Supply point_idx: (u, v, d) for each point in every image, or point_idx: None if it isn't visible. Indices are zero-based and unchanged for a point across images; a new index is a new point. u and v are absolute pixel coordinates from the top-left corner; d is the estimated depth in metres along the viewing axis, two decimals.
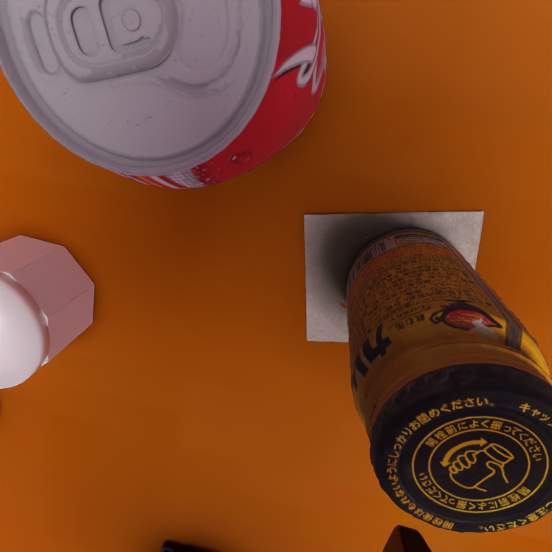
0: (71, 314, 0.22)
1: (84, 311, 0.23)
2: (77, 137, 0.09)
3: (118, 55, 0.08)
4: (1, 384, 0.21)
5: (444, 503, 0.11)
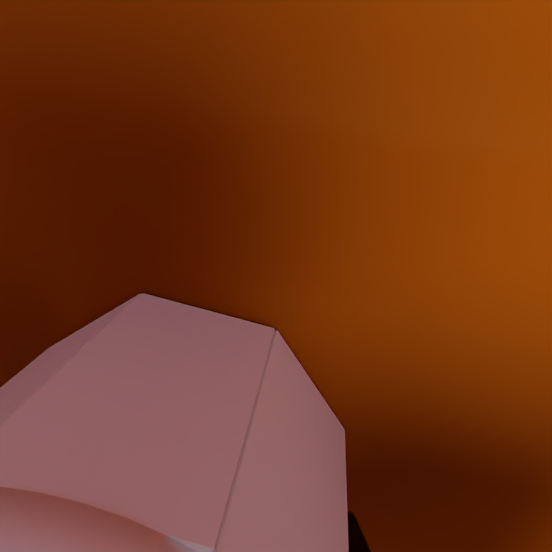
0: None
1: None
2: None
3: None
4: None
5: None
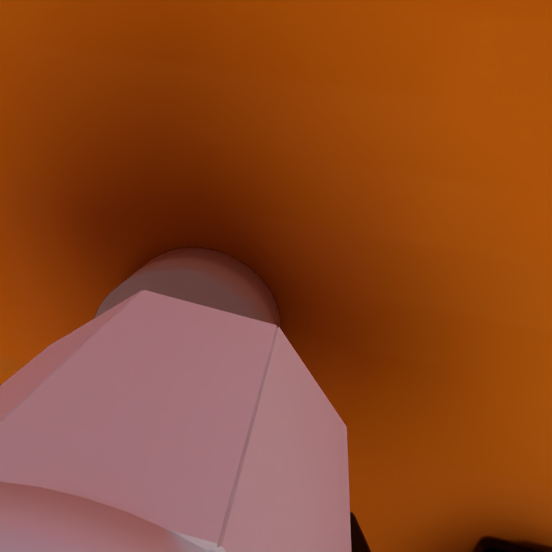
0: None
1: None
2: None
3: None
4: None
5: None
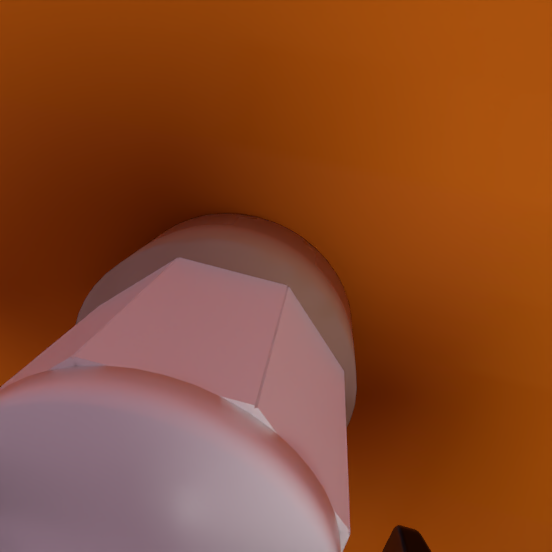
0: None
1: None
2: None
3: None
4: None
5: None
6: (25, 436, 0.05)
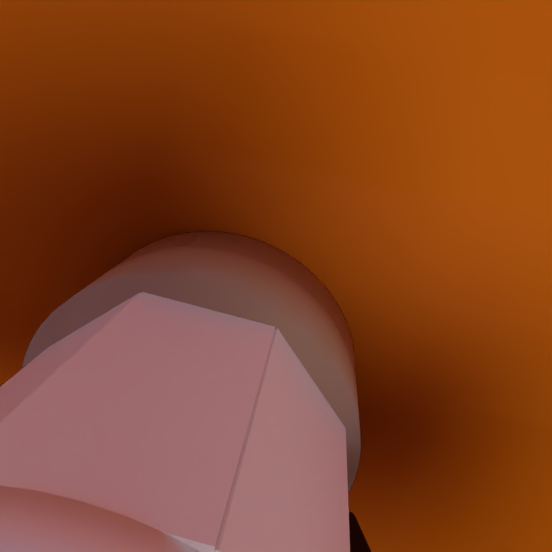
0: None
1: None
2: None
3: None
4: None
5: None
6: None
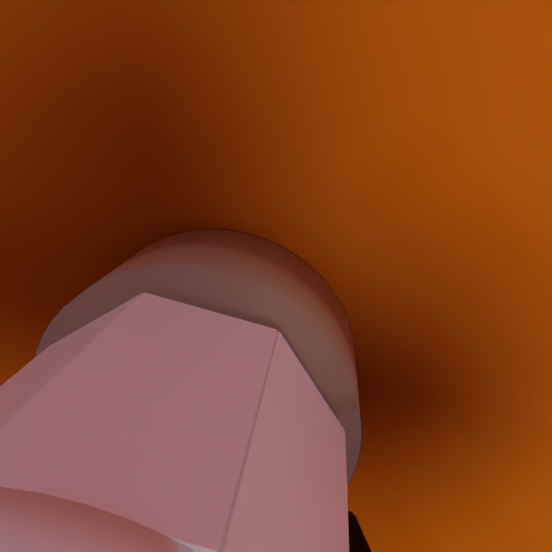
0: (290, 454, 0.06)
1: (311, 417, 0.07)
2: None
3: None
4: None
5: None
6: None
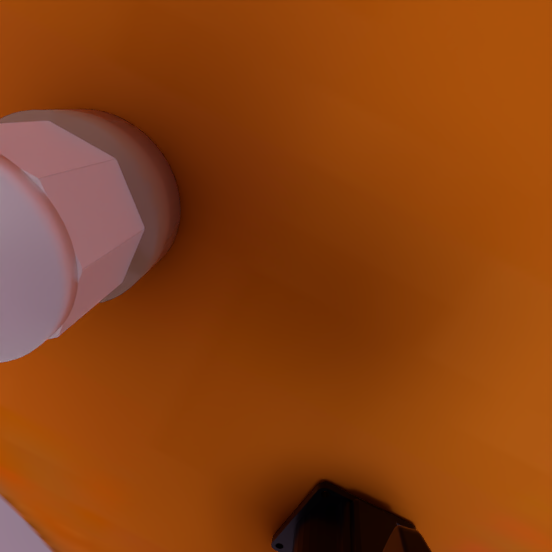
0: (27, 138, 0.12)
1: (66, 142, 0.14)
2: None
3: None
4: (52, 275, 0.11)
5: None
6: None
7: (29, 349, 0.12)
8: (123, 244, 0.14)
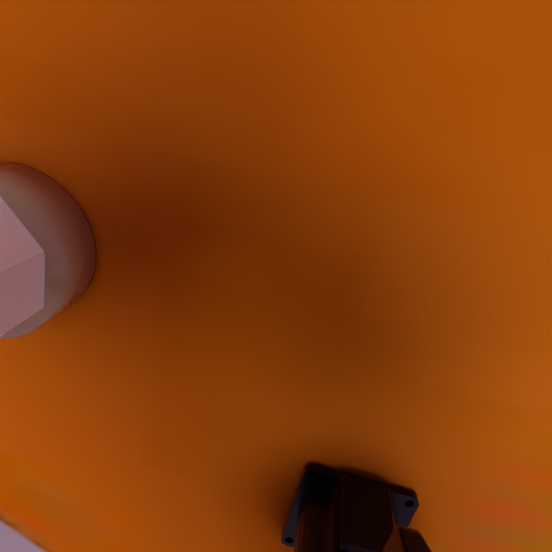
0: None
1: None
2: None
3: None
4: None
5: None
6: None
7: None
8: (16, 268, 0.15)
